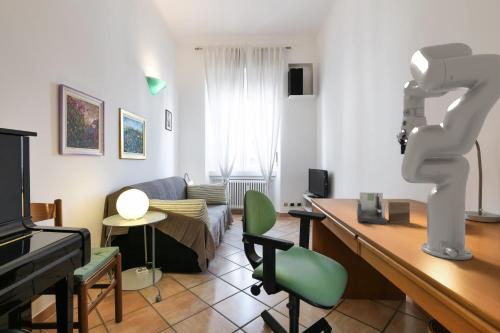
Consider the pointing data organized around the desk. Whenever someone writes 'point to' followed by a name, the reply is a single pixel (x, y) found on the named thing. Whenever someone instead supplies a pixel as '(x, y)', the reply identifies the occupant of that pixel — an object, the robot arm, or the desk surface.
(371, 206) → the stand
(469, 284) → the desk surface
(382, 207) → the plate
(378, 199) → the dark flat plank
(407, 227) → the desk surface
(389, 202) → the push block
